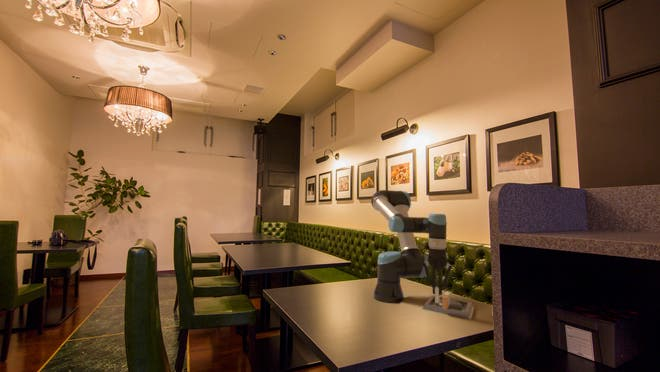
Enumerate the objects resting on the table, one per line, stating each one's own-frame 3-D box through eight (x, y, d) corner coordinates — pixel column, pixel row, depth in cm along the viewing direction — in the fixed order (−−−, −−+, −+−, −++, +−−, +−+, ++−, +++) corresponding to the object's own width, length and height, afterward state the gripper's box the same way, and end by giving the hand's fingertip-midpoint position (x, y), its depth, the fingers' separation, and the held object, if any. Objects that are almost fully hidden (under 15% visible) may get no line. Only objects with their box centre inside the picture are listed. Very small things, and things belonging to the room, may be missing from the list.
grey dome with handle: (438, 302, 139) (438, 286, 139) (462, 307, 133) (462, 290, 134) (431, 312, 124) (431, 295, 125) (458, 318, 119) (458, 299, 119)
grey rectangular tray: (421, 311, 128) (421, 304, 129) (430, 301, 144) (430, 294, 144) (471, 321, 118) (471, 313, 119) (474, 309, 134) (474, 302, 134)
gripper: (420, 247, 129) (420, 301, 127) (451, 250, 122) (451, 307, 120) (424, 246, 135) (424, 297, 133) (454, 248, 128) (454, 302, 126)
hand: (437, 301), depth 126 cm, fingers closed
